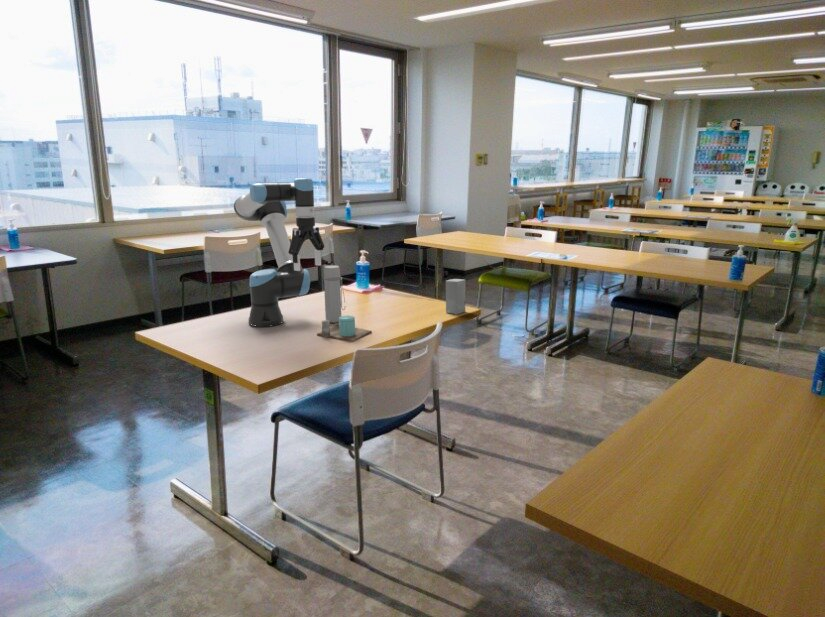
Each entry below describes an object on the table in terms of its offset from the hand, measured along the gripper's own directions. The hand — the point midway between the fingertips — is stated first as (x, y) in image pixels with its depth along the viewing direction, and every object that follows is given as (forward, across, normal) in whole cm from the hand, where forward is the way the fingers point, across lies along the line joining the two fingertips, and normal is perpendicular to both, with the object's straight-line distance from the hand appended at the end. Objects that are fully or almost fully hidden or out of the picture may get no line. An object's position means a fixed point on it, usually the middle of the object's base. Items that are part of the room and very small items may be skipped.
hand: (308, 267), depth 233 cm
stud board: (+27, +1, -17) cm, 32 cm away
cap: (+26, -1, -20) cm, 32 cm away
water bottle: (+27, +15, -2) cm, 31 cm away
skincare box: (+27, +55, -43) cm, 75 cm away
